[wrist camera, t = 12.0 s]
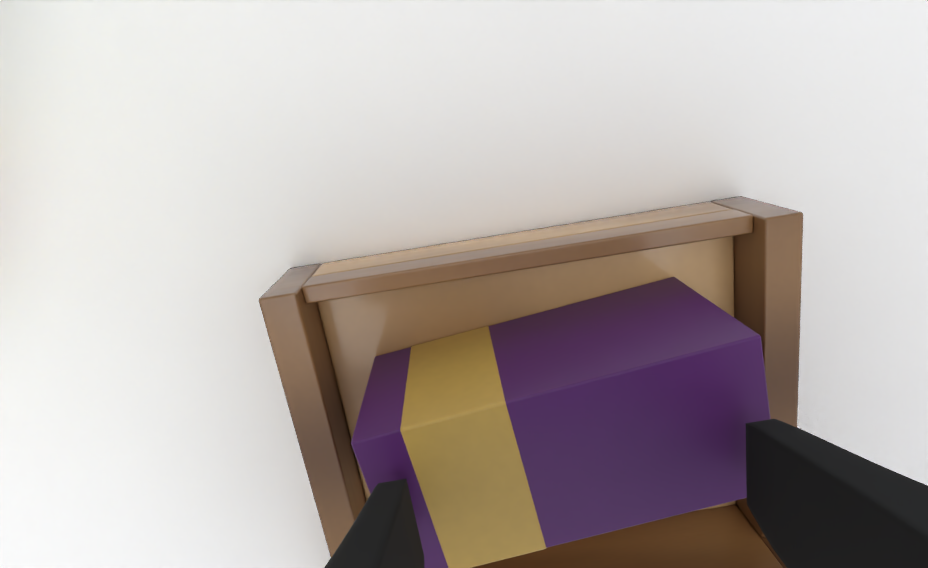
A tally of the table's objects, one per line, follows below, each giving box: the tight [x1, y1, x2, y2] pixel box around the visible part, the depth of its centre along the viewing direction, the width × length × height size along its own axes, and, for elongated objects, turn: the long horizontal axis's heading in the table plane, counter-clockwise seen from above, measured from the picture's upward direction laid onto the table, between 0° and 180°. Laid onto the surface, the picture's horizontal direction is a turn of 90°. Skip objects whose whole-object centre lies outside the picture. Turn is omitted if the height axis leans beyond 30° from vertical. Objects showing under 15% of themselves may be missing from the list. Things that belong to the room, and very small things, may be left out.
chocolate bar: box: [351, 277, 771, 568], centre depth 14 cm, size 4×9×4 cm, turn 105°
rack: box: [259, 196, 803, 568], centre depth 16 cm, size 13×14×6 cm
